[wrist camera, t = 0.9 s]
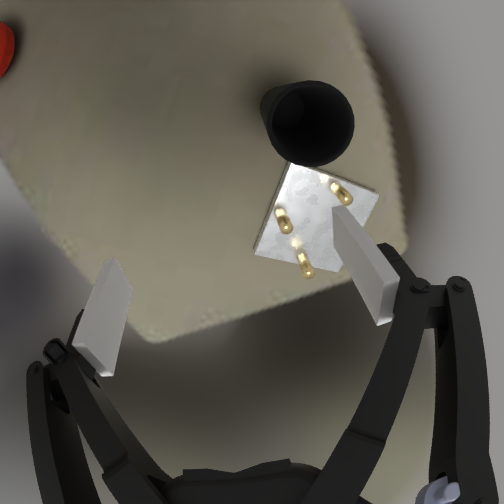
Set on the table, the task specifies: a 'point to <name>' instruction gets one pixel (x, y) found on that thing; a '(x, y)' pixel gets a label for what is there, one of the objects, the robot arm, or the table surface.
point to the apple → (6, 47)
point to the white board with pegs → (310, 217)
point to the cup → (308, 122)
